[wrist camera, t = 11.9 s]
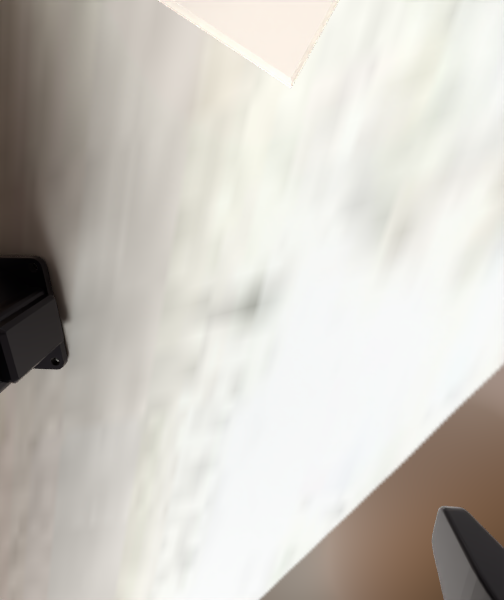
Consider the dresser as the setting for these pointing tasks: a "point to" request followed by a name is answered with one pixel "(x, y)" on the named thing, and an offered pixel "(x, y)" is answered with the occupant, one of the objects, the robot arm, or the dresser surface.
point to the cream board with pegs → (262, 29)
